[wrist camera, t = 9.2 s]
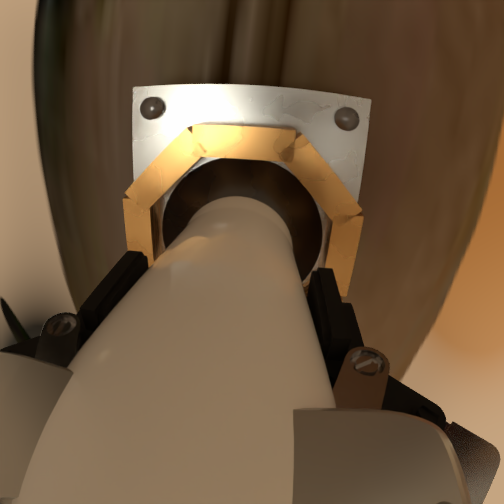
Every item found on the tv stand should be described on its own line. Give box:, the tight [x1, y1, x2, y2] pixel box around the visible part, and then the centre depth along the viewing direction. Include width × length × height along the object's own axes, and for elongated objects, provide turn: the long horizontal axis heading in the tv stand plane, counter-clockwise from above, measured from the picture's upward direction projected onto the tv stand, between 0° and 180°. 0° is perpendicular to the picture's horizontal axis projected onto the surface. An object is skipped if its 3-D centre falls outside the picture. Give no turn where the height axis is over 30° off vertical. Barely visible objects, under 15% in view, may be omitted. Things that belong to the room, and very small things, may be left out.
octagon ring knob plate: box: [123, 84, 371, 301], centre depth 18 cm, size 16×12×6 cm
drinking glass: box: [12, 196, 336, 504], centre depth 9 cm, size 7×7×15 cm
